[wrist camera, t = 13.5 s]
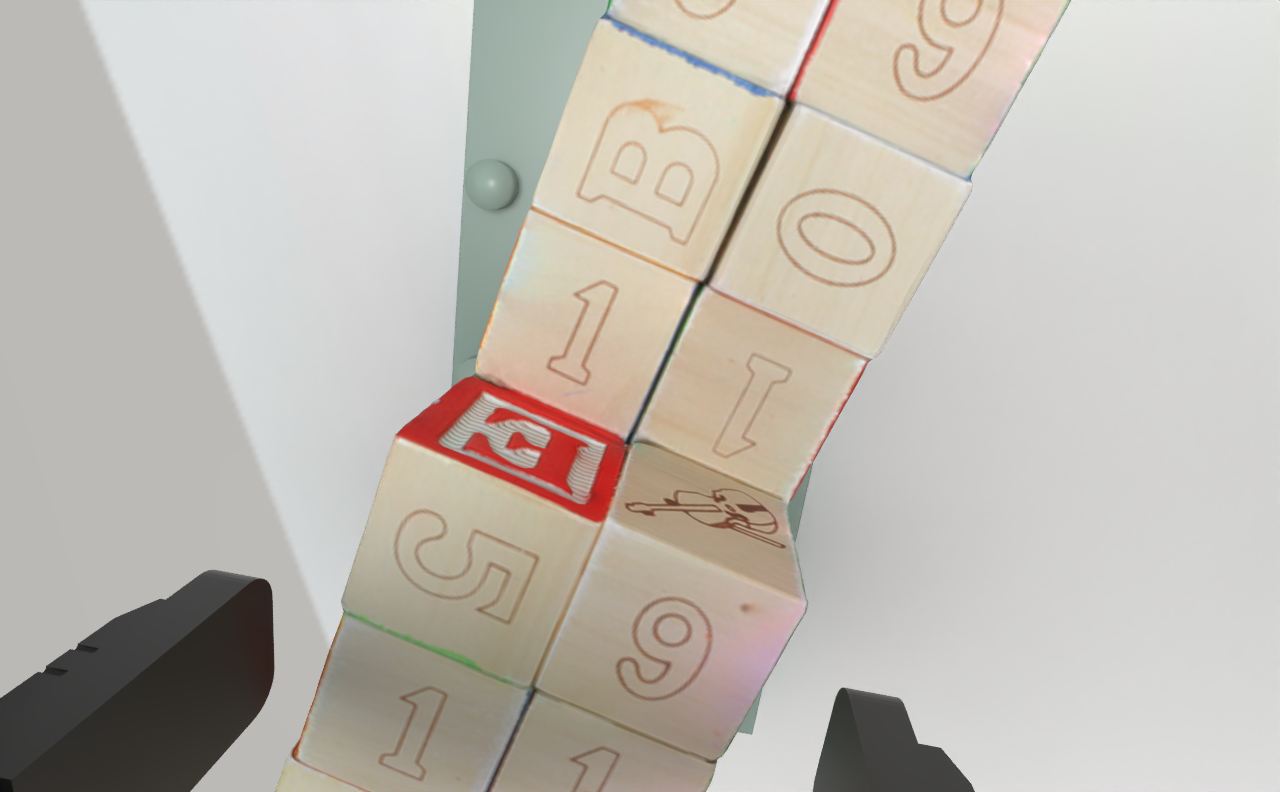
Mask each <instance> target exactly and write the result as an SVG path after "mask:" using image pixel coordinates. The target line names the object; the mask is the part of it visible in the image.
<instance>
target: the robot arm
mask: <svg viewBox="0 0 1280 792" xmlns="http://www.w3.org/2000/svg"><path fill="white" fill-rule="evenodd" d="M273 638H274V637H273V600H272V589H271V586H270V584H269V583H268V582H267V580H265V579H261V578H255V577H250V576H244V575H239V574H234V573H228V572H223V571H218V570H209V571H206V572H204V573H202V574H201V575H199V576H198V577H196V578H195V579H194V580H192V581H191V582H189V583H188V584H187V585H185V586H184V587H183V588H181V589H180V590H179V591H177V592H176V593H174V594H173V595H172V596H170V597H169V598H168V599H166V600H163V599H159V600H156V601H154V602H152V603H149V604H147V605H144V606H142V607H140V608H137V609H135V610H133V611H130V612H128V613H126V614H123V615H121V616H119V617H116V618H114V619H113V620H111V621H110V622H109V623H107V624H106V625H104V626H103V627H102V628H100V629H99V630H97V631H96V632H94V633H93V634H91V635H90V636H89V637H87V638H86V639H84V640H83V641H81V642H80V643H79V644H78V646H77V648H76V649H75V650H71V649H70V650H69V651H67V652H66V653H64V654H63V655H62V656H60V657H59V658H57V659H56V660H54V661H53V662H51V663H50V664H49V665H47V666H46V669H45V671H44V672H43V673H41V672H37V673H36V674H34V675H33V676H31V677H30V678H29V679H27V680H26V681H24V682H23V683H22V684H20V685H19V686H17V687H16V688H14V689H13V690H12V691H10V692H9V693H7V694H6V695H4V696H3V697H2V698H0V792H190V791H191V790H192V789H193V788H194V786H195V785H196V784H197V783H198V782H199V781H200V780H201V779H202V777H203V776H204V775H205V774H206V773H207V772H208V771H209V769H210V768H211V767H212V766H213V765H214V764H215V763H216V762H217V761H218V759H219V758H220V757H221V756H222V755H223V754H224V753H225V752H226V750H227V749H228V748H229V747H230V746H231V745H232V744H233V743H234V741H235V740H236V739H237V738H238V737H239V736H240V735H241V733H242V732H243V731H244V730H245V729H246V728H247V727H248V725H250V723H251V722H252V721H253V720H254V719H255V717H256V716H257V715H258V713H259V712H260V710H261V709H262V707H263V705H264V704H265V701H266V699H267V697H268V695H269V692H270V689H271V686H272V682H273V677H274V639H273ZM813 792H975V791H974V789H973V787H972V784H971V783H970V782H969V781H968V780H967V778H966V777H965V776H964V775H963V774H962V772H961V771H960V770H959V769H958V768H957V767H956V765H955V764H954V763H953V762H952V761H951V759H950V758H949V757H948V756H947V755H946V754H945V752H944V751H943V750H942V749H941V748H938V747H933V746H928V745H923V744H918V742H917V739H916V736H915V734H914V731H913V728H912V725H911V722H910V720H909V717H908V714H907V711H906V709H905V706H904V704H903V702H902V701H901V699H899V698H897V697H891V696H886V695H880V694H875V693H870V692H864V691H859V690H853V689H848V688H841V689H840V690H839V692H838V694H837V696H836V699H835V702H834V706H833V710H832V714H831V718H830V722H829V726H828V729H827V733H826V737H825V741H824V745H823V749H822V753H821V757H820V760H819V764H818V768H817V772H816V776H815V781H814V788H813Z"/></svg>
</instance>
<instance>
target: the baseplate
mask: <svg viewBox="0 0 1280 792" xmlns="http://www.w3.org/2000/svg"><path fill="white" fill-rule="evenodd" d="M608 2H609V0H474V13H473V30H472V47H471V64H470V81H469V99H468V116H467V133H466V150H465V167H464V185H463V202H462V219H461V236H460V253H459V271H458V288H457V305H456V322H455V339H454V357H453V374H452V386H453V385H454V384H456V383H458V382H459V381H461V380H462V379H463V378H466V377H470V376H472V375H474V374H475V373H476V360H477V356H478V351H479V347H480V344H481V341H482V338H483V335H484V333H485V330H486V327H487V324H488V321H489V318H490V315H491V312H492V309H493V307H494V304H495V301H496V298H497V295H498V291H499V288H500V285H501V282H502V279H503V276H504V273H505V271H506V268H507V265H508V262H509V259H510V256H511V253H512V251H513V248H514V246H515V243H516V241H517V237H518V234H519V230H520V228H521V226H522V224H523V222H524V219H525V217H526V215H527V214H528V212H529V210H530V208H531V206H532V203H533V196H534V193H535V190H536V188H537V185H538V182H539V179H540V177H541V174H542V171H543V169H544V166H545V163H546V160H547V157H548V154H549V152H550V149H551V146H552V143H553V140H554V137H555V135H556V132H557V129H558V126H559V123H560V120H561V117H562V115H563V112H564V109H565V106H566V103H567V100H568V98H569V95H570V92H571V89H572V87H573V84H574V81H575V78H576V75H577V73H578V70H579V67H580V64H581V62H582V59H583V56H584V53H585V50H586V47H587V44H588V42H589V39H590V36H591V34H592V32H593V29H594V27H595V25H596V22H597V20H598V19H599V18H601V17H602V16H603V15H604V14H605V12H606V10H607V6H608ZM812 465H813V463H812ZM812 465H811V466H810V468H809V470H808V472H807V473H806V475H805V477H804V479H803V481H802V482H801V484H800V486H799V488H798V490H797V491H796V493H795V495H794V497H793V498H792V500H791V501H790V503H789V504H788V511H789V515H790V520H791V526H792V532H793V537H794V542H795V540H796V536H797V532H798V527H799V523H800V518H801V514H802V509H803V505H804V500H805V496H806V491H807V487H808V482H809V478H810V474H811V469H812ZM761 692H762V689H761V691H760V693H759V694H758V696H757V698H756V700H755V701H754V703H753V705H752V707H751V708H750V710H749V712H748V714H747V716H746V717H745V719H744V721H743V723H742V724H741V726H740V728H739V730H738V731H737V732H741V733H747V734H752V732H753V728H754V723H755V719H756V714H757V710H758V705H759V701H760V696H761Z"/></svg>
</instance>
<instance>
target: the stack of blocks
mask: <svg viewBox="0 0 1280 792" xmlns="http://www.w3.org/2000/svg"><path fill="white" fill-rule="evenodd" d="M1070 1H1071V0H609V2H608V6H607V10H606V12H605V14H604V15H603V16H602V17H601V18H599V19H598V20H597V22H596V25H595V27H594V29H593V32H592V34H591V36H590V39H589V42H588V44H587V47H586V50H585V53H584V56H583V59H582V62H581V64H580V67H579V70H578V73H577V75H576V78H575V81H574V84H573V87H572V89H571V92H570V95H569V98H568V100H567V103H566V106H565V109H564V112H563V115H562V117H561V120H560V123H559V126H558V129H557V132H556V135H555V137H554V140H553V143H552V146H551V149H550V152H549V154H548V157H547V160H546V163H545V166H544V169H543V171H542V174H541V177H540V179H539V182H538V185H537V188H536V190H535V193H534V196H533V203H532V206H531V208H530V210H529V212H528V214H527V215H526V217H525V219H524V222H523V224H522V226H521V228H520V230H519V234H518V237H517V241H516V243H515V246H514V248H513V251H512V253H511V256H510V259H509V262H508V265H507V268H506V271H505V273H504V276H503V279H502V282H501V285H500V288H499V291H498V295H497V298H496V301H495V304H494V307H493V309H492V312H491V315H490V318H489V321H488V324H487V327H486V330H485V333H484V335H483V338H482V341H481V344H480V347H479V351H478V356H477V360H476V373H475V374H474V375H472V376H470V377H466V378H463V379H462V380H461V381H459V382H458V383H456V384H454V385H453V386H452V388H451V389H450V390H449V391H448V392H447V393H445V394H444V395H443V396H442V397H441V398H439V399H438V400H436V401H434V402H433V403H432V404H431V405H430V406H429V407H428V408H426V409H425V410H423V411H422V412H421V413H420V414H419V415H418V416H417V417H415V418H414V419H413V420H411V421H410V422H409V423H407V424H406V425H405V426H404V427H403V428H402V429H401V430H400V431H399V432H398V433H397V434H396V435H395V438H394V440H393V443H392V446H391V449H390V452H389V455H388V458H387V461H386V464H385V467H384V471H383V474H382V477H381V480H380V483H379V486H378V490H377V493H376V496H375V499H374V502H373V505H372V508H371V511H370V514H369V518H368V521H367V524H366V527H365V530H364V533H363V536H362V539H361V542H360V545H359V548H358V551H357V554H356V557H355V560H354V563H353V566H352V569H351V572H350V575H349V578H348V581H347V584H346V588H345V591H344V594H343V597H342V600H341V603H342V607H343V611H344V613H343V616H342V619H341V621H340V624H339V627H338V629H337V632H336V634H335V637H334V640H333V642H332V645H331V648H330V650H329V654H328V656H327V659H326V662H325V665H324V669H323V672H322V674H321V677H320V681H319V683H318V687H317V691H316V694H315V698H314V701H313V703H312V706H311V708H310V711H309V714H308V717H307V719H306V722H305V725H304V728H303V731H302V734H301V738H300V739H299V740H298V742H297V743H296V744H295V746H294V747H293V748H292V750H291V752H290V754H289V756H288V757H287V759H286V762H285V765H284V768H283V770H282V773H281V776H280V779H279V782H278V785H277V788H276V791H275V792H706V790H707V789H708V787H709V785H710V783H711V780H712V778H713V775H714V771H715V767H716V763H717V759H718V758H720V757H722V756H723V754H724V753H725V752H726V750H727V749H728V747H729V745H730V744H731V742H732V740H733V738H734V737H735V735H736V733H737V731H738V730H739V728H740V726H741V724H742V723H743V721H744V719H745V717H746V716H747V714H748V712H749V710H750V708H751V707H752V705H753V703H754V701H755V700H756V698H757V696H758V694H759V693H760V691H761V689H762V688H763V686H764V684H765V682H766V681H767V679H768V677H769V676H770V674H771V672H772V670H773V669H774V667H775V665H776V664H777V662H778V660H779V658H780V656H781V655H782V653H783V651H784V649H785V647H786V645H787V644H788V642H789V640H790V638H791V636H792V635H793V633H794V631H795V629H796V627H797V626H798V624H799V623H800V621H801V619H802V618H803V616H804V615H805V613H806V610H807V605H808V600H807V598H806V594H805V589H804V584H803V580H802V575H801V570H800V565H799V560H798V556H797V551H796V546H795V542H794V537H793V532H792V526H791V520H790V515H789V511H788V504H789V503H790V501H791V500H792V498H793V497H794V495H795V493H796V491H797V490H798V488H799V486H800V484H801V482H802V481H803V479H804V477H805V475H806V473H807V472H808V470H809V468H810V466H811V465H812V463H813V461H814V459H815V458H816V456H817V454H818V452H819V450H820V449H821V447H822V445H823V443H824V441H825V440H826V438H827V436H828V434H829V432H830V431H831V429H832V427H833V425H834V423H835V422H836V420H837V418H838V416H839V415H840V413H841V411H842V409H843V408H844V406H845V404H846V402H847V401H848V399H849V397H850V395H851V394H852V392H853V390H854V388H855V387H856V385H857V383H858V381H859V379H860V377H861V376H862V374H863V372H864V370H865V368H866V365H867V363H868V362H869V361H870V360H872V359H874V358H876V357H877V356H878V355H879V353H880V352H881V351H882V349H883V347H884V345H885V344H886V342H887V340H888V338H889V337H890V335H891V333H892V331H893V330H894V328H895V326H896V325H897V323H898V321H899V319H900V318H901V316H902V314H903V312H904V311H905V309H906V307H907V306H908V304H909V302H910V300H911V299H912V297H913V295H914V293H915V292H916V290H917V288H918V286H919V285H920V283H921V281H922V279H923V278H924V276H925V274H926V272H927V270H928V269H929V267H930V265H931V263H932V262H933V260H934V258H935V256H936V254H937V253H938V251H939V249H940V247H941V245H942V244H943V242H944V240H945V238H946V236H947V235H948V233H949V231H950V229H951V227H952V226H953V224H954V222H955V220H956V219H957V217H958V215H959V213H960V211H961V210H962V208H963V206H964V204H965V202H966V201H967V199H968V197H969V195H970V193H971V192H972V186H973V185H972V181H971V175H972V173H973V171H974V169H975V168H976V166H977V165H978V163H979V161H980V160H981V158H982V157H983V155H984V153H985V152H986V150H987V149H988V147H989V145H990V144H991V142H992V140H993V139H994V137H995V135H996V133H997V131H998V130H999V128H1000V126H1001V124H1002V123H1003V121H1004V119H1005V117H1006V115H1007V114H1008V112H1009V110H1010V108H1011V106H1012V104H1013V103H1014V101H1015V99H1016V97H1017V95H1018V93H1019V92H1020V90H1021V88H1022V87H1023V85H1024V83H1025V81H1026V80H1027V78H1028V76H1029V74H1030V73H1031V71H1032V69H1033V68H1034V66H1035V64H1036V62H1037V61H1038V59H1039V57H1040V55H1041V53H1042V51H1043V49H1044V47H1045V45H1046V43H1047V41H1048V40H1049V38H1050V37H1051V35H1052V33H1053V32H1054V30H1055V28H1056V27H1057V25H1058V23H1059V21H1060V19H1061V18H1062V16H1063V14H1064V12H1065V10H1066V9H1067V7H1068V5H1069V3H1070Z"/></svg>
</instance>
